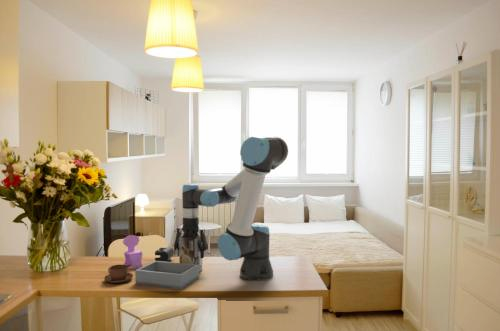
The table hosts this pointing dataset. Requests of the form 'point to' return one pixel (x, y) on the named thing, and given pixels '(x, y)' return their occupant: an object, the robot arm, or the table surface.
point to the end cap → (164, 254)
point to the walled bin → (167, 274)
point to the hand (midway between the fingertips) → (190, 263)
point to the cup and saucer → (118, 274)
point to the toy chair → (132, 252)
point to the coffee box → (189, 250)
